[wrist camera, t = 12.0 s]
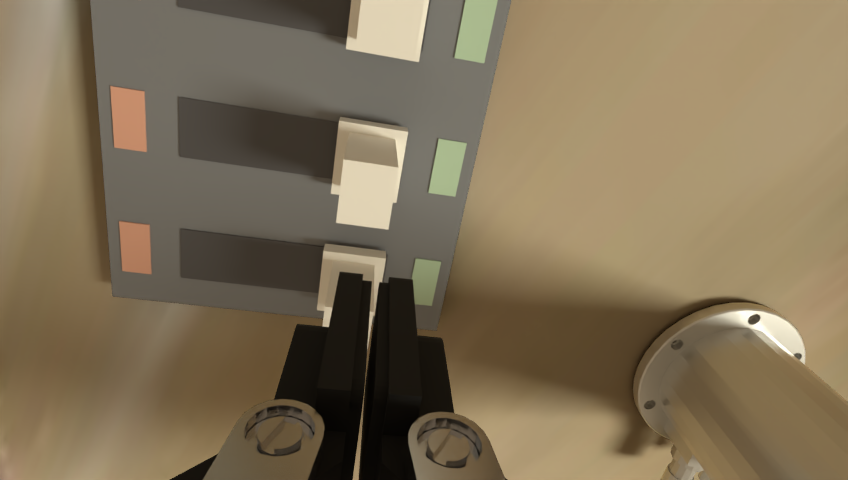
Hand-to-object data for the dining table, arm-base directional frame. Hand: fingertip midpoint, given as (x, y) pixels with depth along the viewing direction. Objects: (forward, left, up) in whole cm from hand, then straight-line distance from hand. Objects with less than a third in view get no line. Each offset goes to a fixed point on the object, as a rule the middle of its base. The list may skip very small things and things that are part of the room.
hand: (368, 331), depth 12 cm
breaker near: (+6, 0, -18) cm, 19 cm away
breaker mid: (-1, 0, -18) cm, 18 cm away
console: (-1, +4, -20) cm, 20 cm away
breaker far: (-9, 0, -18) cm, 20 cm away
